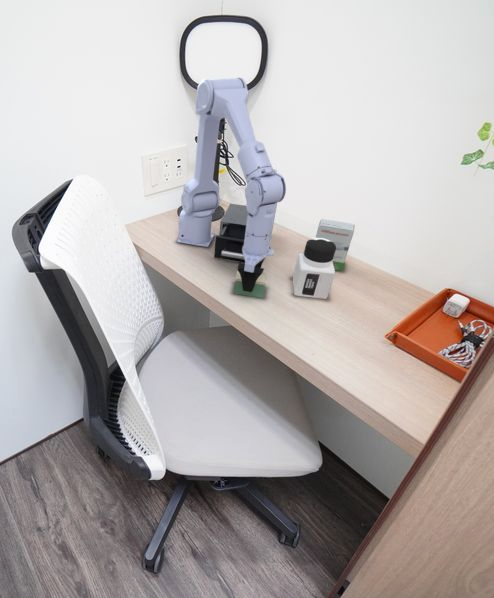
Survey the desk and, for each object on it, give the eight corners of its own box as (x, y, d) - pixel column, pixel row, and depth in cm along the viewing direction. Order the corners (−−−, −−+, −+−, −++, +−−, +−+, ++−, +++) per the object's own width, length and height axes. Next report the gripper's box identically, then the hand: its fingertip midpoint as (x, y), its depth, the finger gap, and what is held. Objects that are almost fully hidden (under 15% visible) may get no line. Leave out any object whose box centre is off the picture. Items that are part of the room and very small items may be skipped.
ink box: (343, 263, 99) (356, 223, 92) (341, 271, 96) (355, 231, 89) (310, 256, 102) (320, 217, 95) (308, 264, 99) (318, 224, 92)
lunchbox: (233, 293, 88) (235, 278, 85) (235, 283, 91) (237, 268, 88) (263, 298, 86) (266, 282, 84) (264, 287, 90) (267, 272, 87)
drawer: (252, 272, 93) (256, 251, 90) (210, 265, 96) (211, 244, 92) (261, 243, 106) (264, 223, 102) (223, 237, 109) (225, 218, 105)
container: (327, 299, 86) (342, 252, 78) (293, 295, 87) (305, 248, 79) (323, 282, 92) (337, 236, 84) (292, 278, 93) (303, 232, 85)
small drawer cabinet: (261, 253, 103) (265, 227, 98) (218, 246, 106) (220, 221, 102) (267, 233, 114) (271, 208, 109) (227, 227, 117) (230, 203, 112)
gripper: (272, 249, 73) (262, 302, 81) (281, 220, 83) (271, 270, 92) (237, 243, 75) (231, 296, 83) (251, 216, 85) (244, 265, 94)
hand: (250, 282), depth 87 cm, fingers open, 7 cm apart
